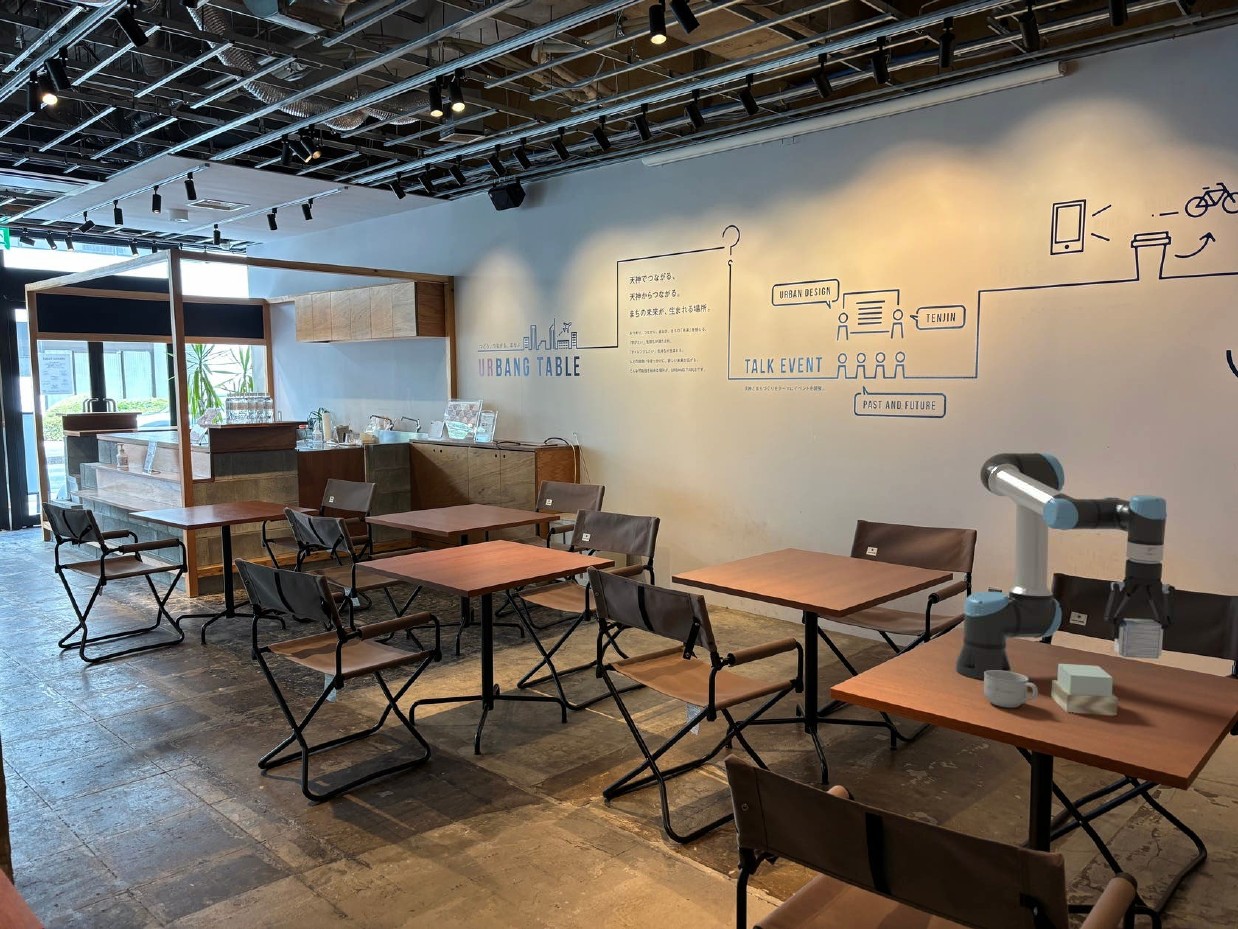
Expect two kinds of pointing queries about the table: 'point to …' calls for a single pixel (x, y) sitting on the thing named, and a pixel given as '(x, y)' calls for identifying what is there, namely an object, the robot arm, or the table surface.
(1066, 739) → the table surface
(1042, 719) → the table surface
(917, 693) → the table surface
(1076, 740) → the table surface
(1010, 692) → the teacup
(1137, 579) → the robot arm
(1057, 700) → the birch base block
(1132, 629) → the medicine box
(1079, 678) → the grey-green top block
